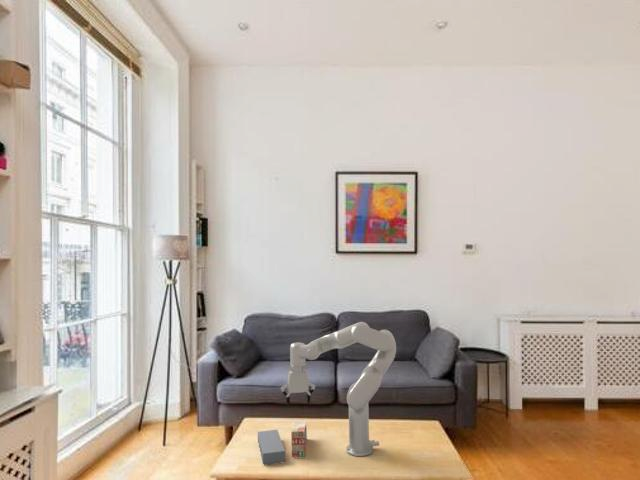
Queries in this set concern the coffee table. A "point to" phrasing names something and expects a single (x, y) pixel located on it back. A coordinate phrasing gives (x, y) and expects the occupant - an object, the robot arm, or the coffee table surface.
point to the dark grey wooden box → (271, 447)
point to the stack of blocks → (299, 438)
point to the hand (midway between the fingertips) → (298, 403)
